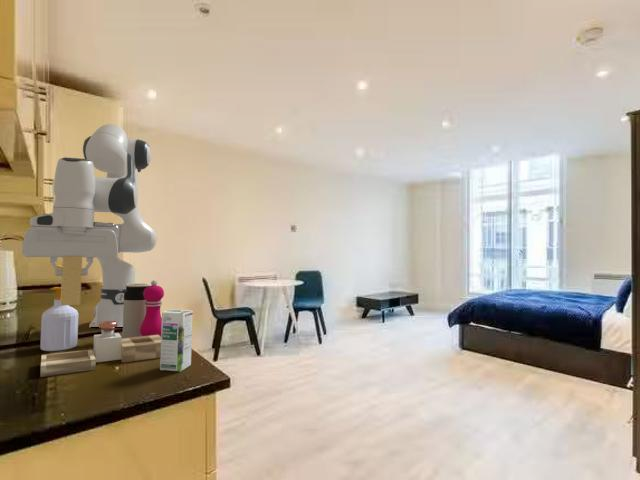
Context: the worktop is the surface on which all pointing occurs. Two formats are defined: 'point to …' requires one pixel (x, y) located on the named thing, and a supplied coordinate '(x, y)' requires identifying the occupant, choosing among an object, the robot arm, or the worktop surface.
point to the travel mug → (133, 309)
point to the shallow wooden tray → (67, 362)
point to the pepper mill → (152, 310)
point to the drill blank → (71, 280)
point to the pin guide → (107, 348)
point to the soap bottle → (59, 326)
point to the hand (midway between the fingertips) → (71, 275)
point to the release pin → (107, 328)
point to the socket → (140, 348)
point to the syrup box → (176, 340)
